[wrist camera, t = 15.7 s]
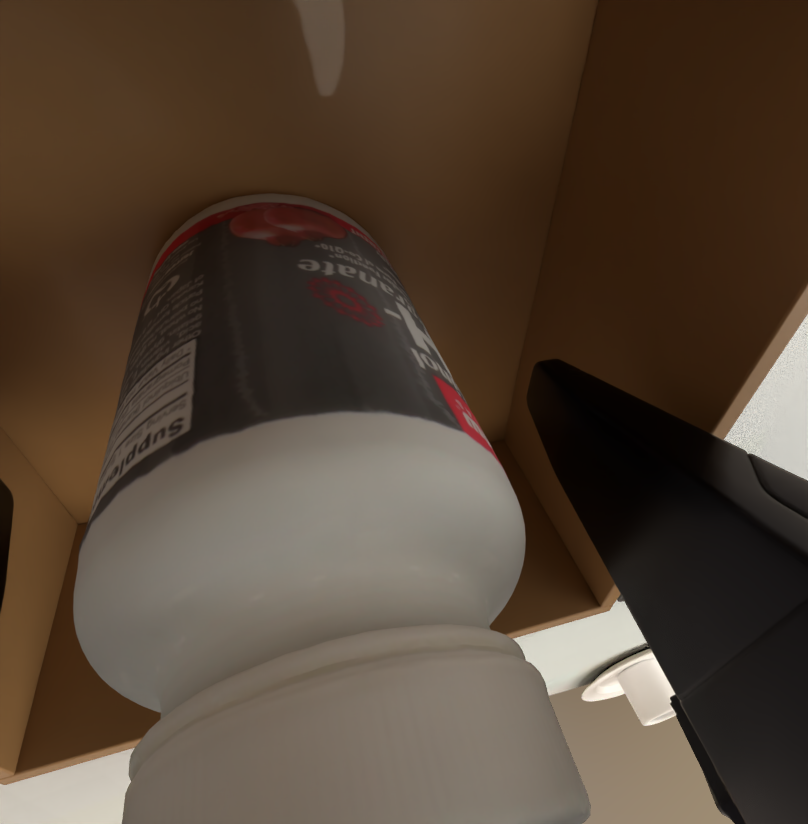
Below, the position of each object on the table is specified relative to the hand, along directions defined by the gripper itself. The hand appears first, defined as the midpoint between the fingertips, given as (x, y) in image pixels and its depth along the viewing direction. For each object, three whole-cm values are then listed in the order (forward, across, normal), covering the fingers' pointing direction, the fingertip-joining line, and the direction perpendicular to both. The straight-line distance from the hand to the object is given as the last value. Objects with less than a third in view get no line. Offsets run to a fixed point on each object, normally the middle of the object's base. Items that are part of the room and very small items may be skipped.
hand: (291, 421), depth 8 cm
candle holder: (+4, -26, +42) cm, 50 cm away
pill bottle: (+4, 0, 0) cm, 4 cm away
